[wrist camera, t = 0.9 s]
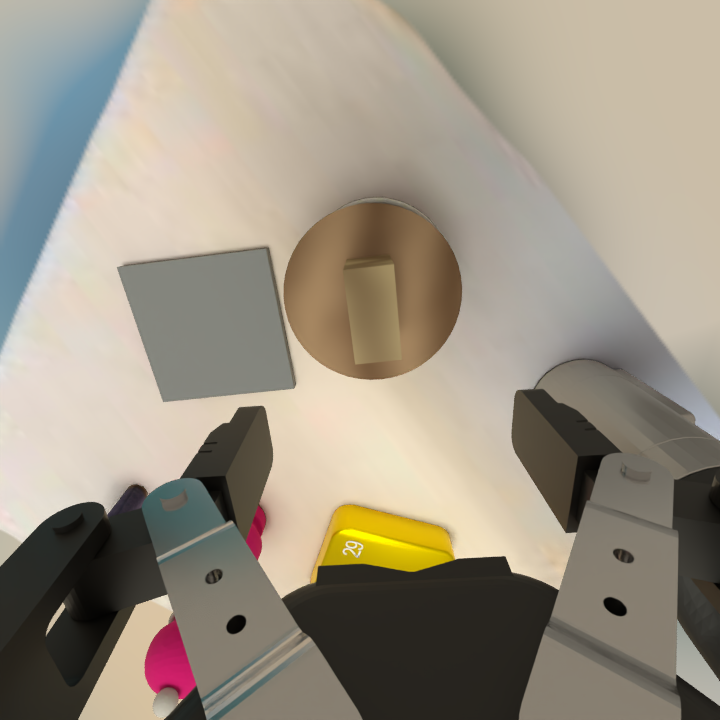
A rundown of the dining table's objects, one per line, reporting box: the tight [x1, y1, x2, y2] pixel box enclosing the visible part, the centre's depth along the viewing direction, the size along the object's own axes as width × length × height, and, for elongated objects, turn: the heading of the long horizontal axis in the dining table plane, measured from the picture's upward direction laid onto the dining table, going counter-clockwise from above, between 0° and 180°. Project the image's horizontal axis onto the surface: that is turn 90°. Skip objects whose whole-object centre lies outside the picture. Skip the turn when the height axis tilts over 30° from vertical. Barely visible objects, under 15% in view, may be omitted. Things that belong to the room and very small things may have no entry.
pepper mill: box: [145, 506, 266, 718], centre depth 38 cm, size 7×7×20 cm
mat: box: [117, 248, 296, 402], centre depth 38 cm, size 14×14×1 cm
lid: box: [284, 203, 462, 380], centre depth 26 cm, size 13×13×6 cm
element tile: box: [310, 505, 455, 584], centre depth 48 cm, size 15×15×5 cm
